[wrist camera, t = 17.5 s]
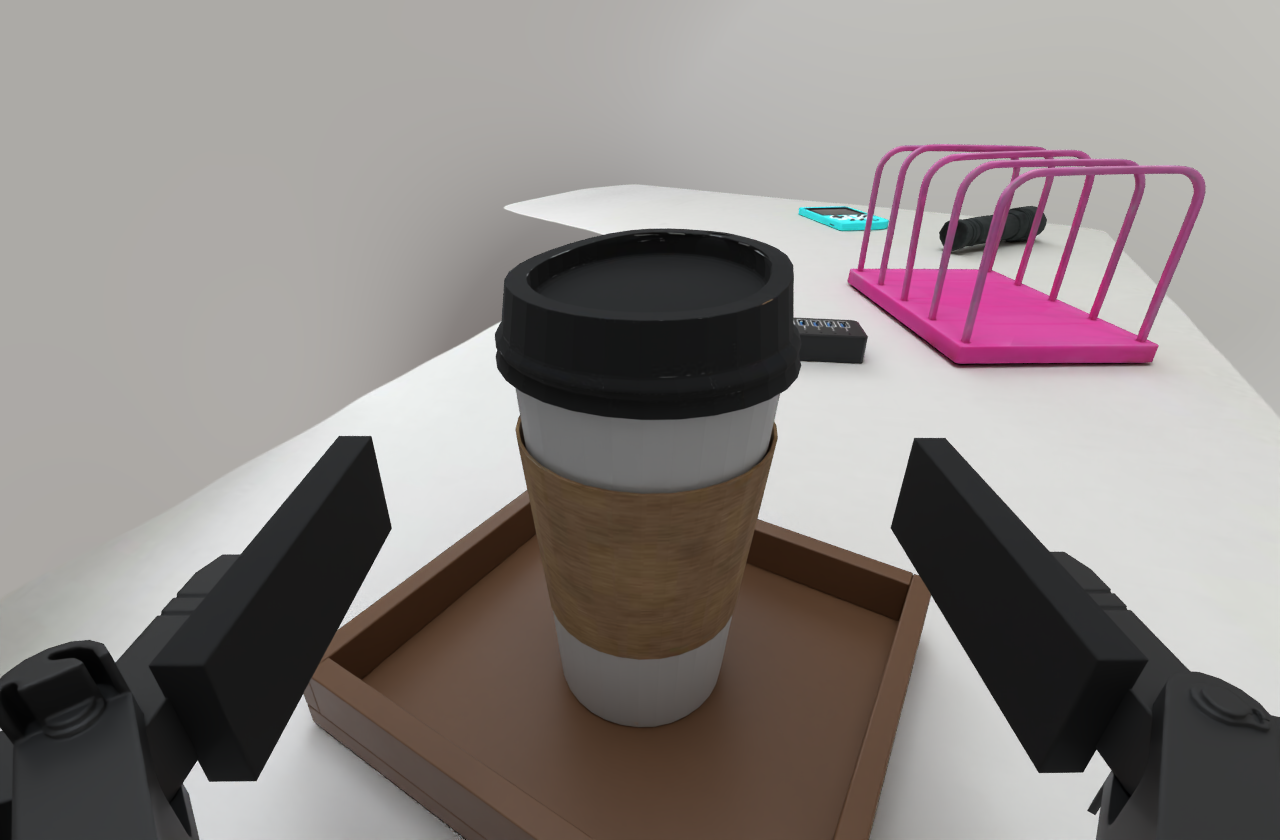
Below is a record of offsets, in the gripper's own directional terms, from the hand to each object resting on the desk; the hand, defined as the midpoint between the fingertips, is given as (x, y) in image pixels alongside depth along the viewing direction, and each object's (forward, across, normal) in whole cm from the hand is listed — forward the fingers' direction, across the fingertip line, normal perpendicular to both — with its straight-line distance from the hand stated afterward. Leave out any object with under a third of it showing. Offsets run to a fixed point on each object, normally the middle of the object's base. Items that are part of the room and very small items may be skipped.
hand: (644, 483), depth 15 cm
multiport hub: (+37, +14, -11) cm, 41 cm away
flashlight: (+80, +54, -11) cm, 98 cm away
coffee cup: (+4, 0, -10) cm, 11 cm away
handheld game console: (+99, +38, -11) cm, 107 cm away
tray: (+4, 0, -11) cm, 12 cm away
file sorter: (+46, +35, -11) cm, 59 cm away
